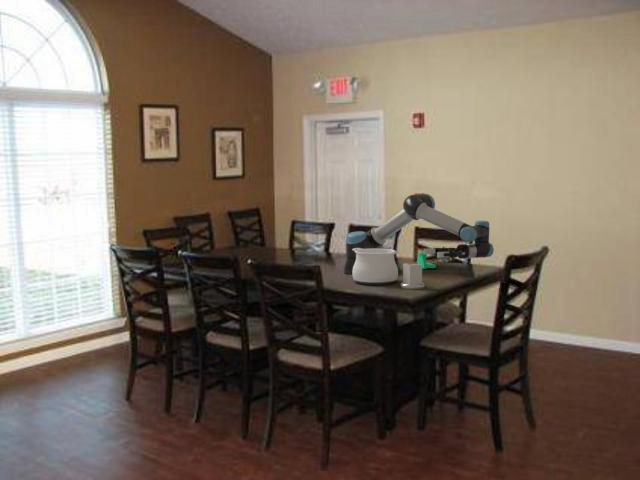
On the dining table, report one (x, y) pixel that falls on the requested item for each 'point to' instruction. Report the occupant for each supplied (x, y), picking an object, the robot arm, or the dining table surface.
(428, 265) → the camera mount
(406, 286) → the hub plate
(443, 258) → the passion flower
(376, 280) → the pot
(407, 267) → the box with orange strip
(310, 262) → the dining table surface
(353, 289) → the dining table surface
